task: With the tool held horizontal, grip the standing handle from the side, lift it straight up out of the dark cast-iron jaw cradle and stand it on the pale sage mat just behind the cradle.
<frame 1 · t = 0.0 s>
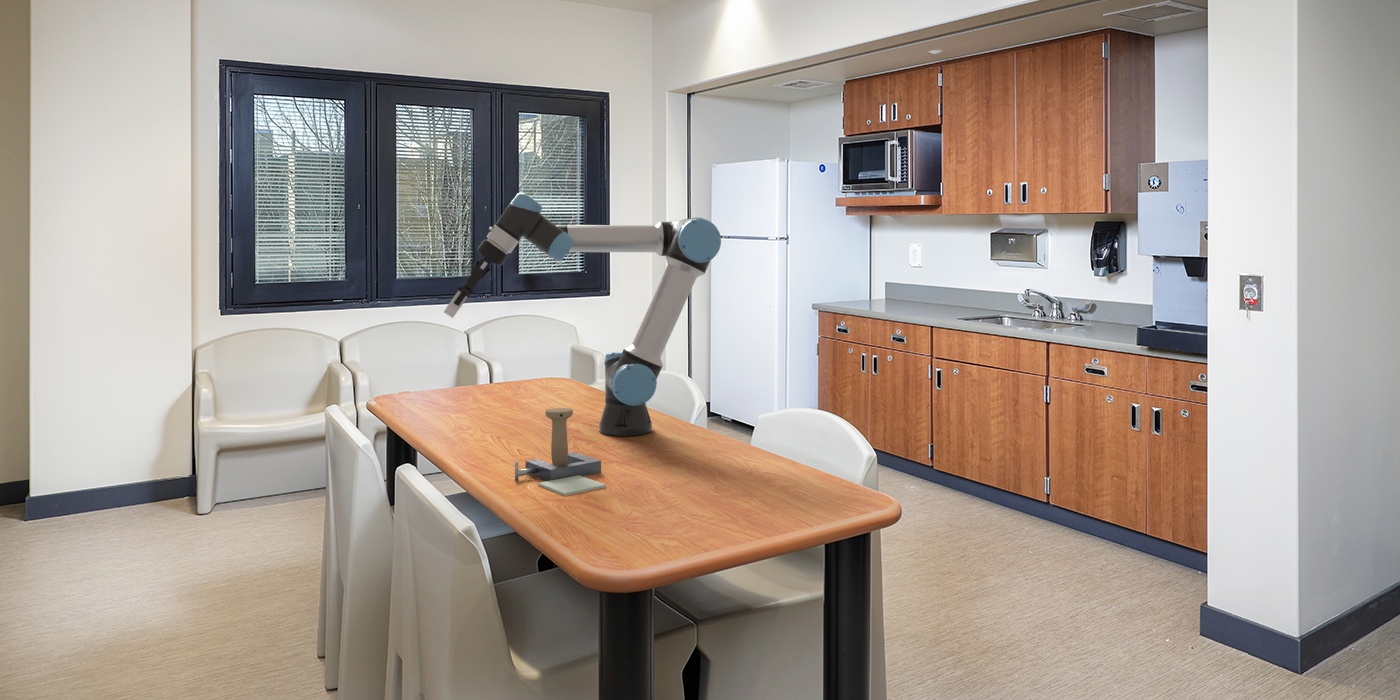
hand: (449, 312, 250), 36 cm above the table, tool tilted 35°, fingers open, 13 cm apart
vise: (562, 472, 230), on the table
mat: (572, 486, 218), on the table
handle: (559, 472, 231), on the table
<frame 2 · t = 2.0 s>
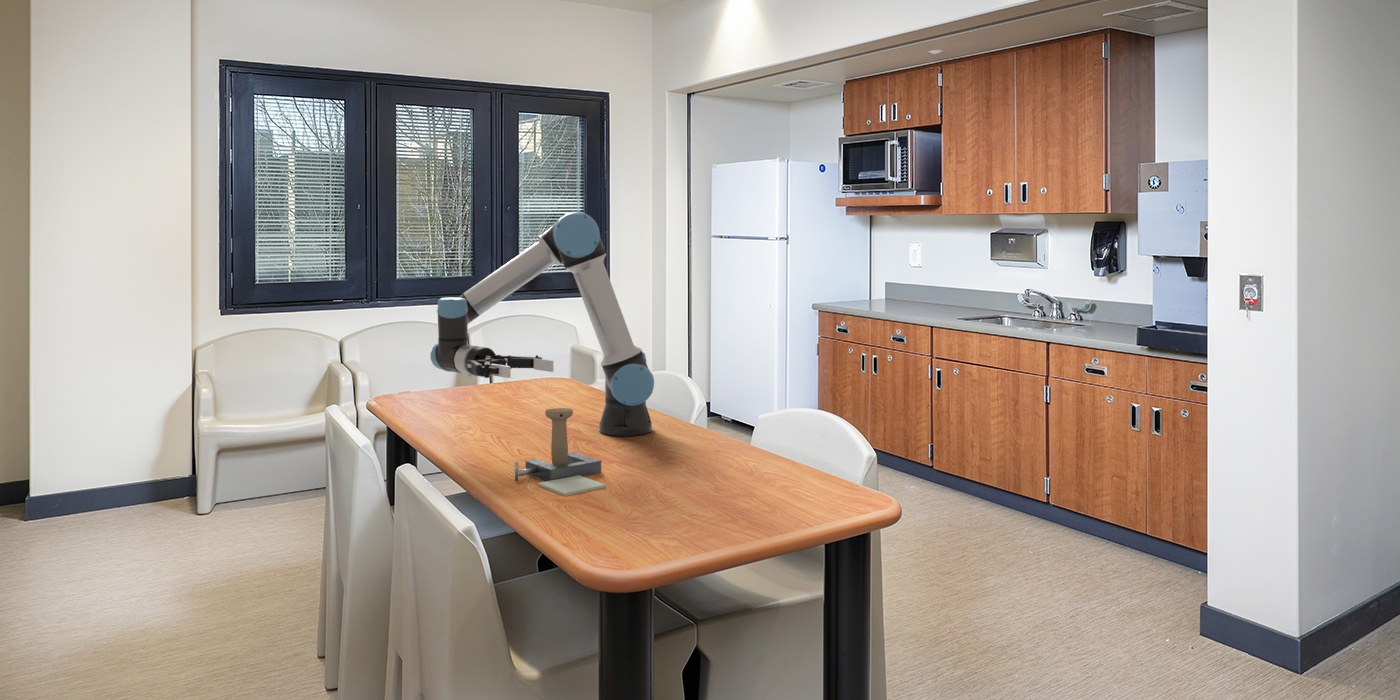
hand: (531, 369, 234), 24 cm above the table, tool horizontal, fingers open, 13 cm apart
nothing on the table moved.
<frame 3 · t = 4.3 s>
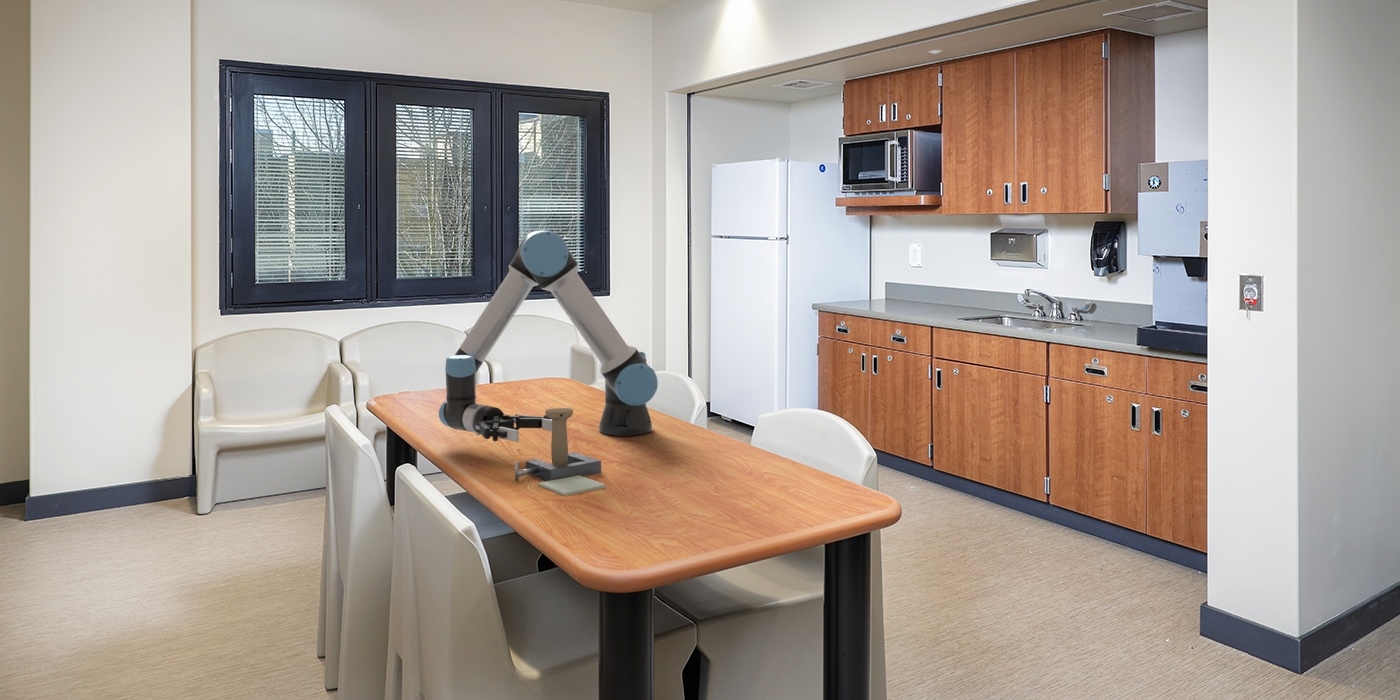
hand: (539, 431, 233), 9 cm above the table, tool horizontal, fingers open, 13 cm apart
nothing on the table moved.
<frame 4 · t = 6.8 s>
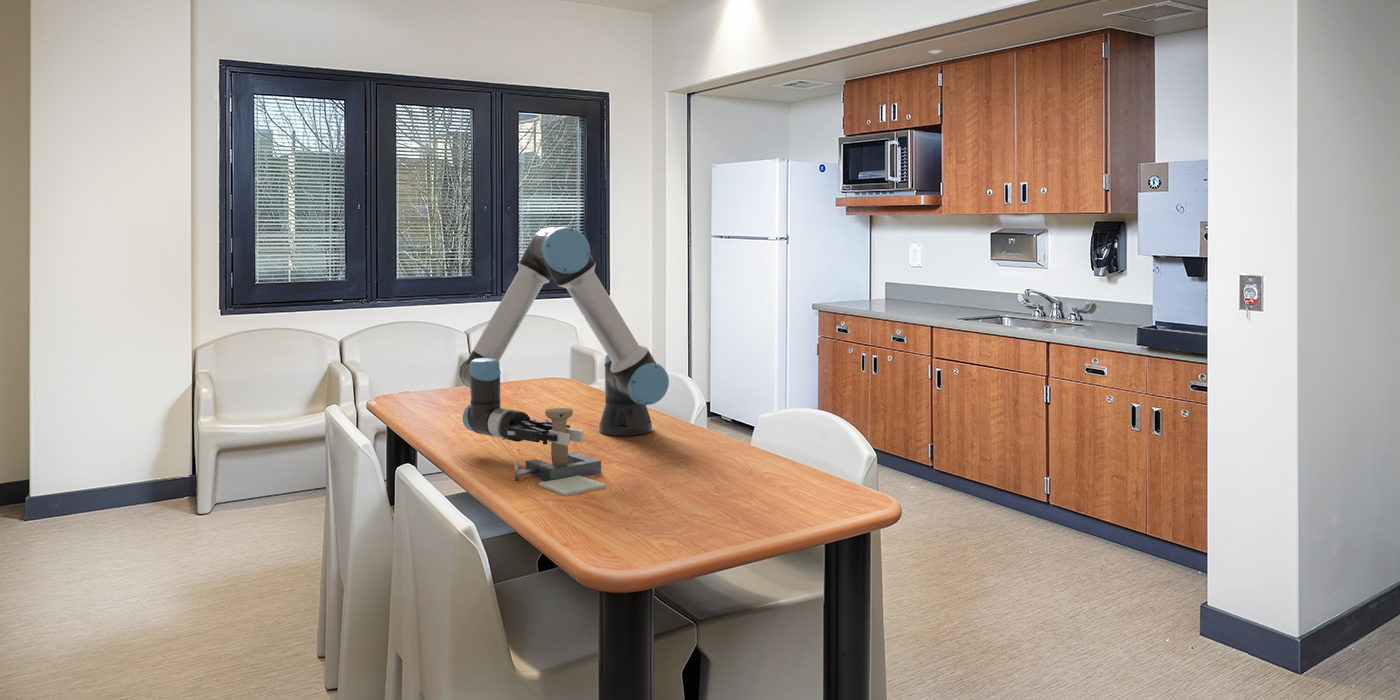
hand: (575, 438, 226), 9 cm above the table, tool horizontal, fingers closed on handle, 3 cm apart
handle: (559, 472, 231), on the table, touching gripper
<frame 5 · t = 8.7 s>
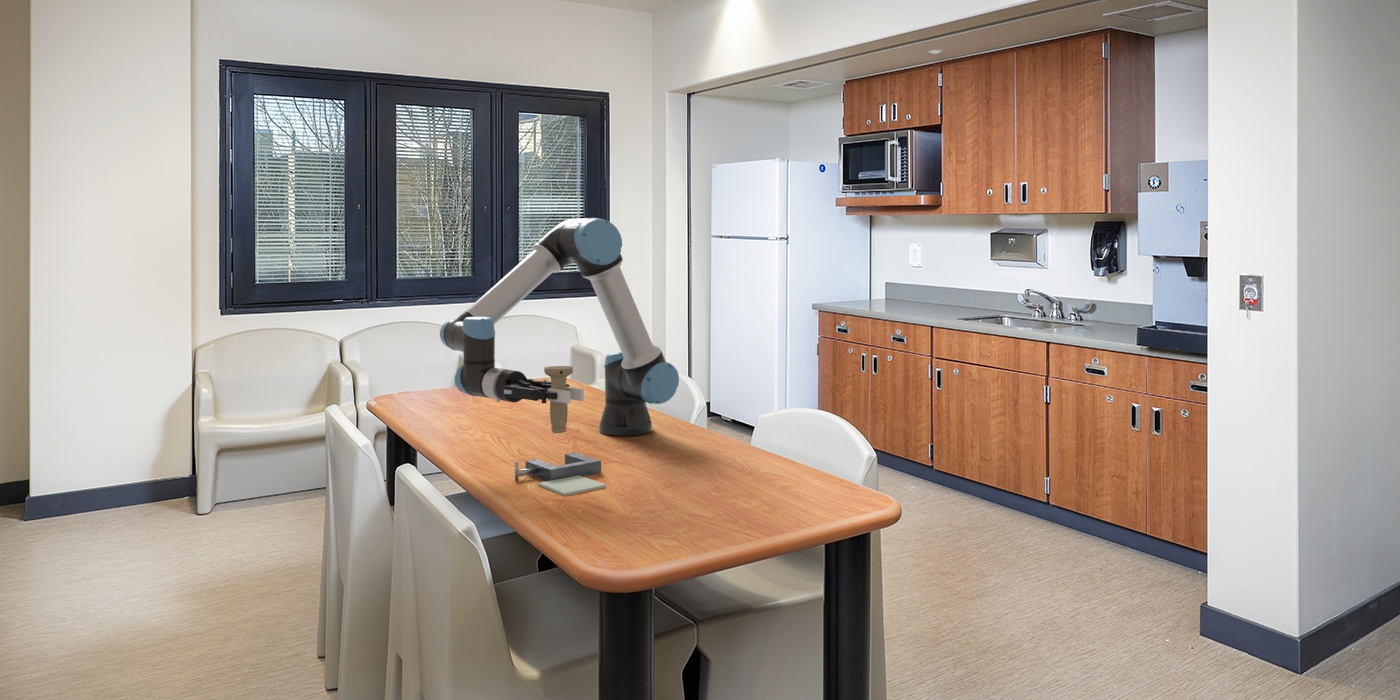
hand: (575, 396, 216), 21 cm above the table, tool horizontal, fingers closed on handle, 3 cm apart
handle: (558, 433, 221), point 11 cm above the table, touching gripper
when the fingers open (11 cm above the table, at t = 10.9 s): handle drops 1 cm, resting on mat.
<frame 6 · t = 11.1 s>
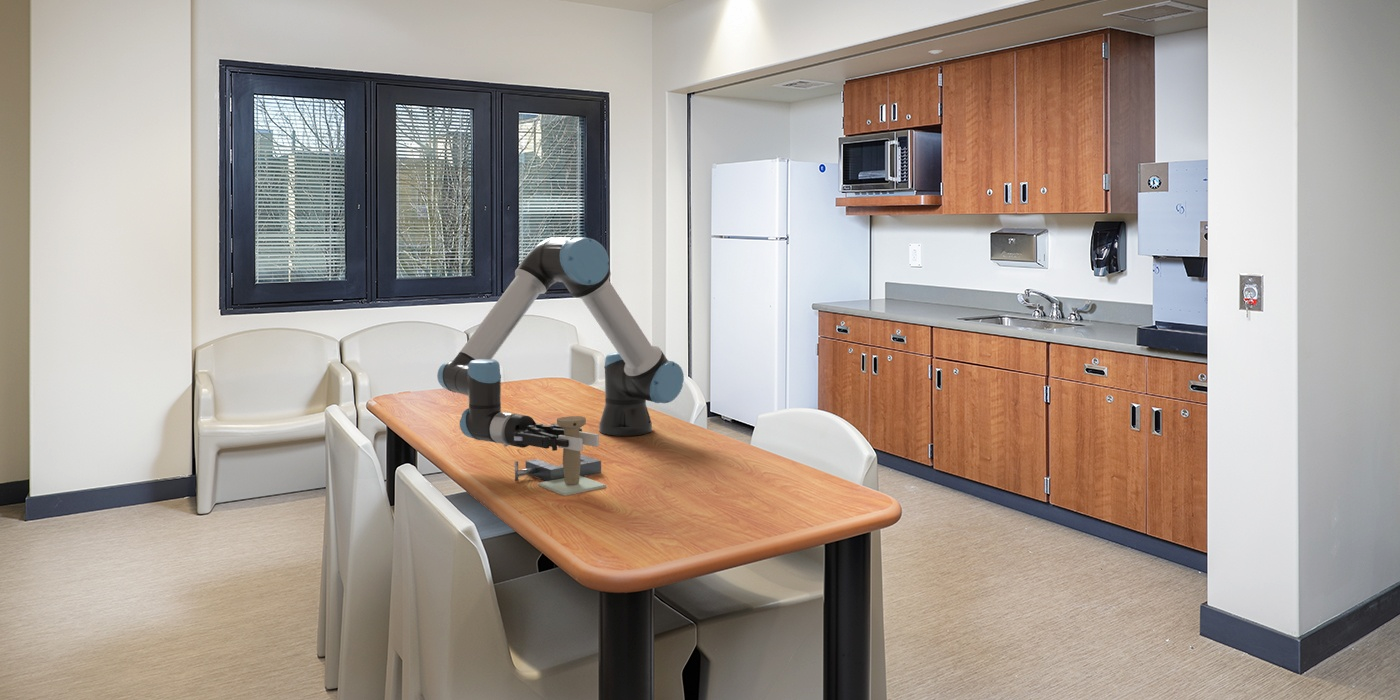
hand: (589, 442, 213), 11 cm above the table, tool horizontal, fingers open, 5 cm apart
handle: (571, 484, 218), resting on mat
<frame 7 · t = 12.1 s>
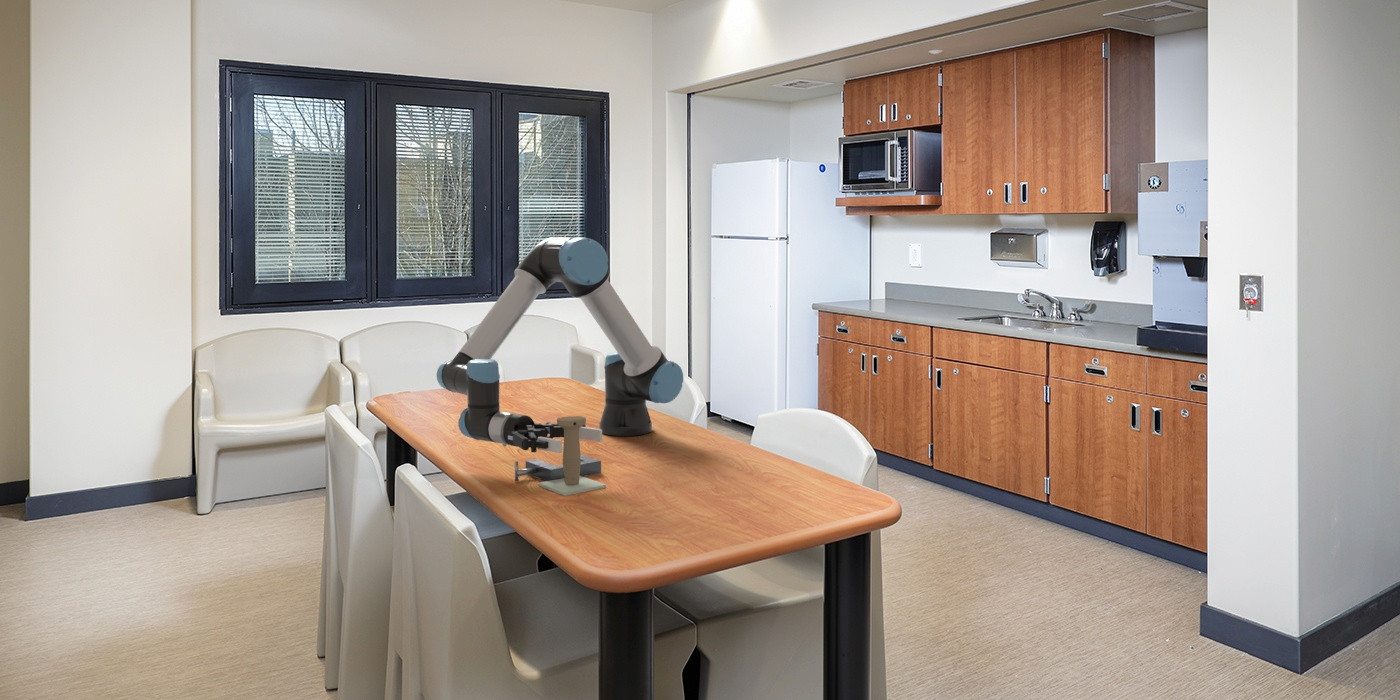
hand: (581, 441, 215), 11 cm above the table, tool horizontal, fingers open, 13 cm apart
nothing on the table moved.
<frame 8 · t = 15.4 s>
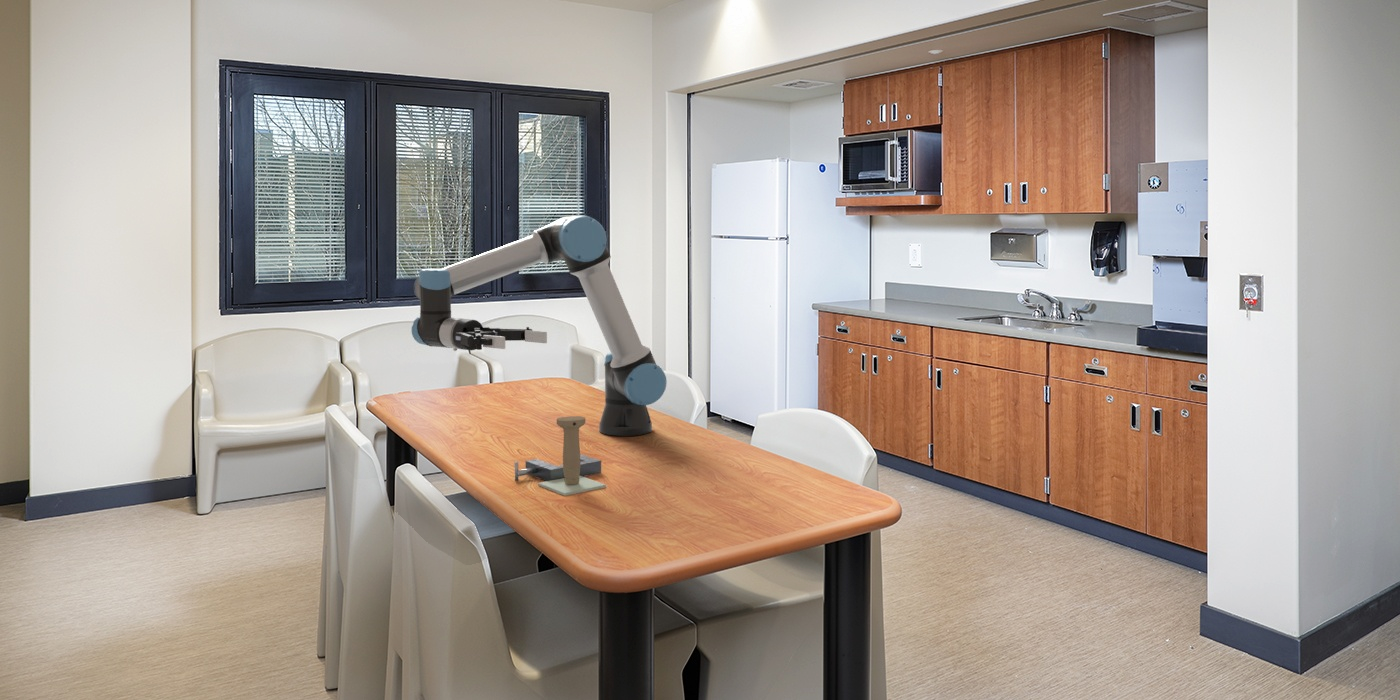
hand: (525, 340, 224), 32 cm above the table, tool horizontal, fingers open, 13 cm apart
nothing on the table moved.
at the end: handle inside the target area on the mat (0.0 cm from its centre), point 0.4 cm above the mat's base; handle tilted 0°; the gripper is holding nothing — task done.
